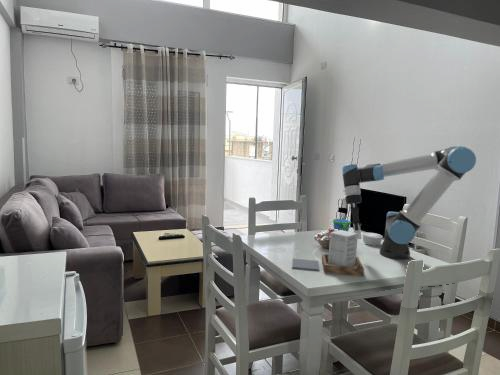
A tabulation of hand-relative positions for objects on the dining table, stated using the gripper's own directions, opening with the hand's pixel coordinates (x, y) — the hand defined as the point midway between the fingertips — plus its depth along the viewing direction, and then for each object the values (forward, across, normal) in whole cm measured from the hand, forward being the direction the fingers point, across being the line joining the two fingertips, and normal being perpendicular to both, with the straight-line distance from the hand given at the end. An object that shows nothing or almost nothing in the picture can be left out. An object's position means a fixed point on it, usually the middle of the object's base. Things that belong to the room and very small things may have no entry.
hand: (358, 238), depth 183 cm
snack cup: (-4, -49, -12) cm, 51 cm away
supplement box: (+14, +8, -9) cm, 18 cm away
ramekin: (+2, -43, +6) cm, 44 cm away
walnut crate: (+13, +8, -9) cm, 18 cm away
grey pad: (+11, +13, -25) cm, 30 cm away
